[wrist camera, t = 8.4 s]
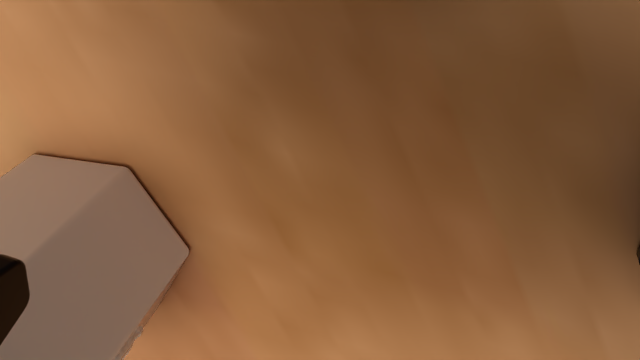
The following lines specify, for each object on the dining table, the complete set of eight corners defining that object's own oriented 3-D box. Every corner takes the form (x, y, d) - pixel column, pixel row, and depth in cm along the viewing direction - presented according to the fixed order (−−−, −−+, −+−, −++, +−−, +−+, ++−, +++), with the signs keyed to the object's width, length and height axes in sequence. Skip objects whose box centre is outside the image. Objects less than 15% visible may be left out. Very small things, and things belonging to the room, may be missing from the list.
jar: (148, 332, 29) (-32, 594, 20) (5, 246, 29) (-255, 470, 19) (215, 218, 24) (18, 494, 14) (43, 111, 24) (-285, 321, 14)
